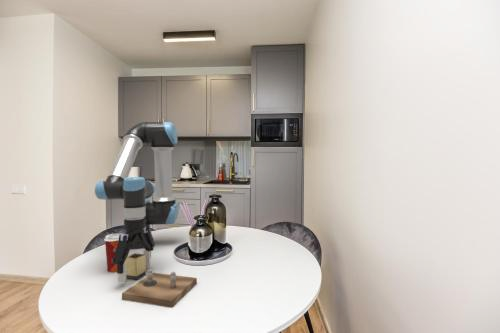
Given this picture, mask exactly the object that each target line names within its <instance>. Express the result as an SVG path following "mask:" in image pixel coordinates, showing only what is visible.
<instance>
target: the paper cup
mask: <svg viewBox="0 0 500 333" xmlns="http://www.w3.org/2000/svg"><path fill="white" fill-rule="evenodd" d="M119 235H125V234H124V233H121V232H120V233H119V232H118V233H117V232H115V233H110V234H107V235H105V237H104V239H103V241H104V242H105V257H106V268H107V272H108V273H115V272H116V273H117V264H112V261H113V258H114V254H115V251H116V248H117V245H118V242H119ZM121 261H122V259H121Z"/></svg>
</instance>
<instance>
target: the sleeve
mask: <svg viewBox="0 0 500 333" xmlns="http://www.w3.org/2000/svg"><path fill="white" fill-rule="evenodd" d="M124 263H126V280H129V281H138V280H140V279H142V278H144V276H147V269H146V268H147V267H146V261H145V254H144V253H132V254H129V255H128V256H127V258H126V260H125V262H124Z"/></svg>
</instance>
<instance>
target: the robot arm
mask: <svg viewBox="0 0 500 333" xmlns="http://www.w3.org/2000/svg"><path fill="white" fill-rule="evenodd" d="M177 132H178V131H177V128H176V126H175V124H174V123H173V122H171V121H142V122H139V123H136V124H134V125H132V126H131V128H129V129H128V130H127V131H126V132H125V133H124V135H123V138H122V139H121V140H122V146H121V147H120V150H119V151H118V152H117V153H118V154H117V156H116V158H115V161H114V162H113V164H112V166H111V169H110V171H109V173H108V175H107V177H106V180H102V181H101V180H100V181H98V182H97V183H96V185H95V186H94V195H95V196H96V198H97V199H98V200H105V201H106V200H107V201H109V200H112V201H114V200H123V219H124V220H123V229H124V230H125V234H124V235H119V242H118V245H117V248H116V251H115V254H114V258H113V261H112V264H117V272H116V273H117V274H118V276H117V279H118V283H126V282H127V279H126V263H125V260H126V258H127V257H128V256H129V255H130V252H131V250H136V249H144V250H143V254H145V261H146V268H147V269H151V264H152V263H151V260H152V259H151V258H152V255H151V254H152V252H151V251H154V248H155V243H154V242H155V241H154V237H153V234H152V232H151V231H152V230H151V226H152V225H157V226H158V225H166V226H167V225H174V224H175V223H176V222H177V219H178V217H179V212H180V203H179V202H178V201H176V198H175V197H174V195H173V171H172V170H173V169H172V166H173V164H172V162H173V161H172V151H173V150H174V149H175V145H177V144H178V133H177ZM144 145H150V148H151V150H153V152H154V153H153V154H154V155H153V156H154V157H153V158H154V182H152V181H150V180H146V179H145V177H143V176H142V177H141V176H136V177H129V176H130V172H131V170H132V168H133V165H134V162H135V160H136V158H137V156H138V152H139V150H141V149H142V148H143V146H144ZM154 194H155V197H153V198H152V202H151V201H150V199H149V198H151V197H152V196H153V195H154ZM121 259H122V261H121Z"/></svg>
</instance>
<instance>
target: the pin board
mask: <svg viewBox="0 0 500 333" xmlns="http://www.w3.org/2000/svg"><path fill="white" fill-rule="evenodd" d="M197 280H198V278H197V277H191V276H182V275H177V273H176V272H175V271H172V272H170V274H167V273H162V272H161V273H160V272H153V269H151V268H148V269H147V270H146V277H145V278H144V277H143V279H141V280H140V281H138V282H136V283H135V284H134V285H132V286H131V287H129V288H127V289H126V290H124V291H122V292H121V300H123V301H129V300H130V302H135V301H136V303H141V302H142V304H149V305H153V306H154V305H156V306H162V307H166V308H167V307H168V308H172V307H174V306H175V305H176V304H177V303H178V302H179V301H180V300H181V299H182V298H183V297H184V296H186V294H188V292H189V291H191V290H192V289H193V288H194V287H195V286H196V284H197V283H198V281H197Z"/></svg>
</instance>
